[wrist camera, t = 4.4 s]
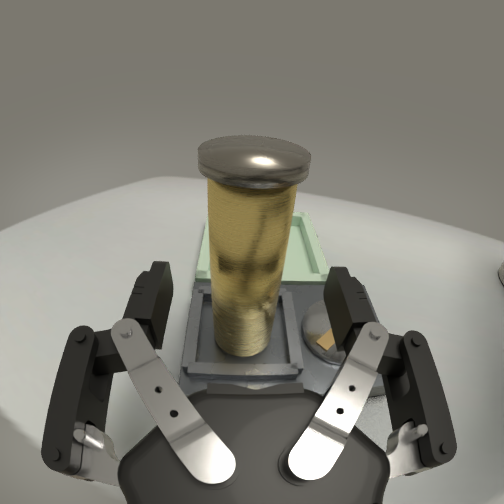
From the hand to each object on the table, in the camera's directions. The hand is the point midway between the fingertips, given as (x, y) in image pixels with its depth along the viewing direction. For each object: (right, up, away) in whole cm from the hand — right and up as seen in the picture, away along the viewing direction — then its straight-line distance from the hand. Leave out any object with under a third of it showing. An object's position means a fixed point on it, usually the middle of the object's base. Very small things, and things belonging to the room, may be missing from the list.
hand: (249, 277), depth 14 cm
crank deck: (+3, -6, +7) cm, 10 cm away
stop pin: (-1, -4, +5) cm, 7 cm away
